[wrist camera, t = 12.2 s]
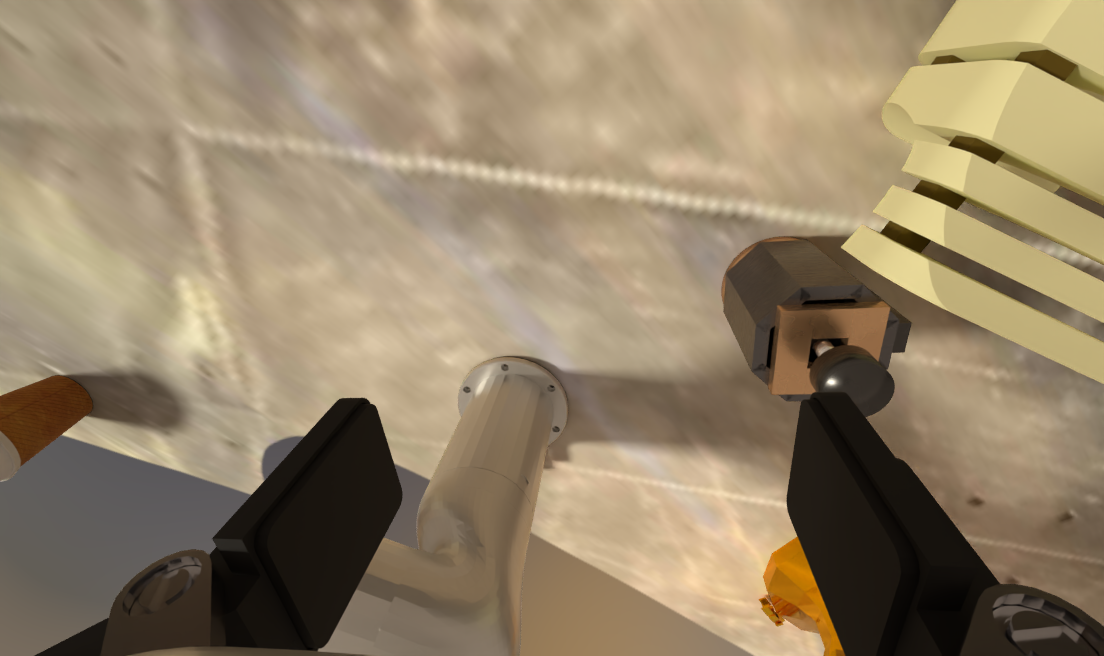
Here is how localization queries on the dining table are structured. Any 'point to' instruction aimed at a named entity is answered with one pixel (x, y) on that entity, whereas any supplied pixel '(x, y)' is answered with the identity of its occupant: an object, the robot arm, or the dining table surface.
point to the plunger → (850, 373)
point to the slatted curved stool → (1002, 167)
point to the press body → (802, 312)
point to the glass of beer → (37, 419)
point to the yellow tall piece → (798, 596)
